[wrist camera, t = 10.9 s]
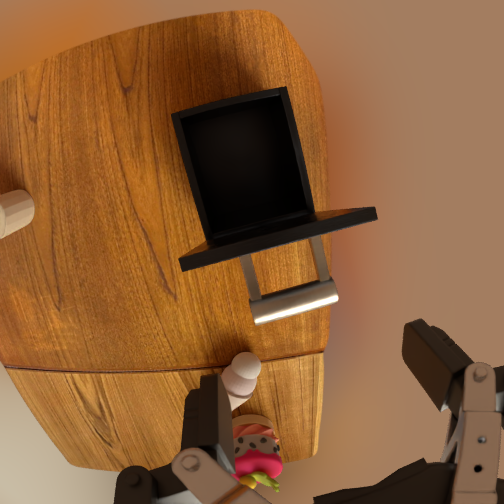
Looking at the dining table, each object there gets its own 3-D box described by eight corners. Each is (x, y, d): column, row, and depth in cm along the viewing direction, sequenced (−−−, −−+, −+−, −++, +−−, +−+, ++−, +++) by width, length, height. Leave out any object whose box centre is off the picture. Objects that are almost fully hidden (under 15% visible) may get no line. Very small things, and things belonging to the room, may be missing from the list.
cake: (237, 448, 56) (242, 506, 42) (212, 423, 52) (213, 487, 38) (282, 433, 55) (296, 492, 41) (262, 406, 52) (273, 472, 37)
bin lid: (177, 258, 17) (206, 350, 17) (375, 206, 17) (392, 296, 17) (205, 240, 31) (220, 293, 32) (316, 211, 31) (328, 264, 32)
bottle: (4, 197, 35) (-36, 211, 25) (28, 183, 35) (-13, 196, 25) (15, 230, 37) (-23, 251, 27) (39, 219, 37) (0, 239, 27)
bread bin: (181, 121, 35) (170, 113, 27) (271, 99, 35) (286, 86, 27) (209, 222, 40) (206, 243, 31) (295, 200, 40) (315, 214, 32)
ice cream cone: (210, 407, 50) (245, 341, 49) (237, 426, 48) (276, 360, 46) (191, 417, 45) (226, 347, 43) (219, 439, 42) (260, 369, 41)
